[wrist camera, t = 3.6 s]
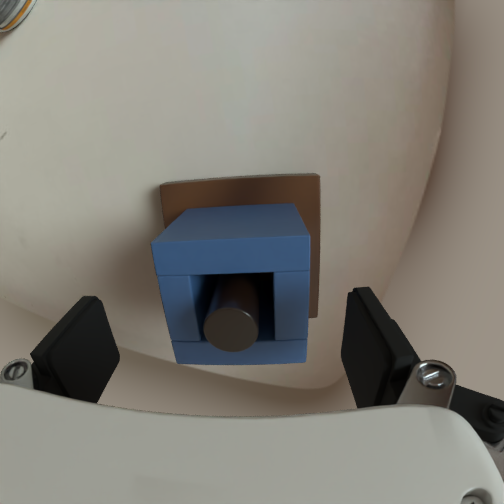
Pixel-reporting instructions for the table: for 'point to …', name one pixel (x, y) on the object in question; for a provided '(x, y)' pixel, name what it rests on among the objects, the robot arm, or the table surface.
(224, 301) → the dowel stand
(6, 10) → the pill bottle
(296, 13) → the table surface
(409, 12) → the table surface
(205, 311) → the blue block
